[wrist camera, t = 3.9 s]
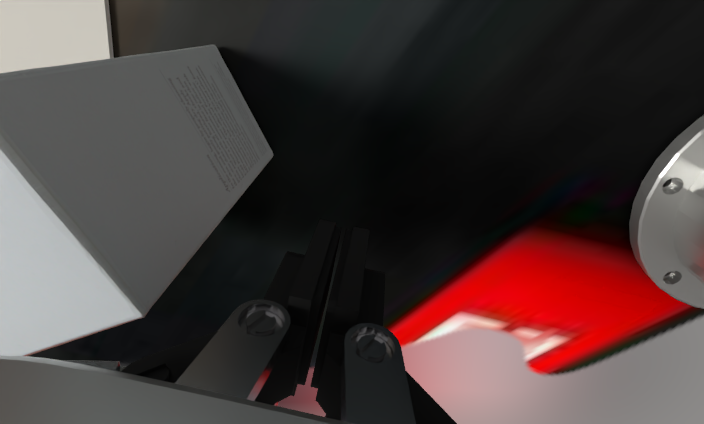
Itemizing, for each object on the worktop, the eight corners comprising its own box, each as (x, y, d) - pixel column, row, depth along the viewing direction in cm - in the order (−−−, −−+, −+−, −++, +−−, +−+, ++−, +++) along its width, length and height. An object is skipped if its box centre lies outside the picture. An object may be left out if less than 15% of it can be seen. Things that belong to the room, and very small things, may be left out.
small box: (163, 204, 23) (-67, 391, 11) (94, 105, 20) (-292, 213, 9) (279, 156, 21) (147, 322, 9) (218, 40, 18) (-66, 68, 7)
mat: (100, -85, 17) (95, -87, 16) (133, 274, 26) (130, 276, 26) (-190, -147, 17) (-199, -150, 17) (-56, 230, 26) (-61, 233, 26)
